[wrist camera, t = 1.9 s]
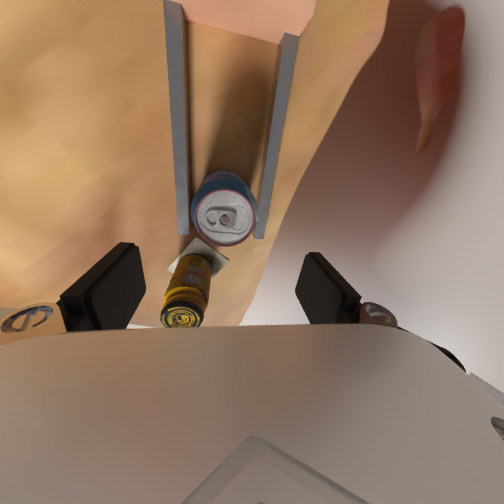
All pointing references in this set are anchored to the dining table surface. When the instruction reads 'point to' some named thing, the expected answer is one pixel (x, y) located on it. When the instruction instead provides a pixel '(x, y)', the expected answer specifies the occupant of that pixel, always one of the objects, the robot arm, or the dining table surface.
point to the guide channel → (180, 120)
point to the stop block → (251, 16)
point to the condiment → (190, 285)
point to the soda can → (224, 209)
